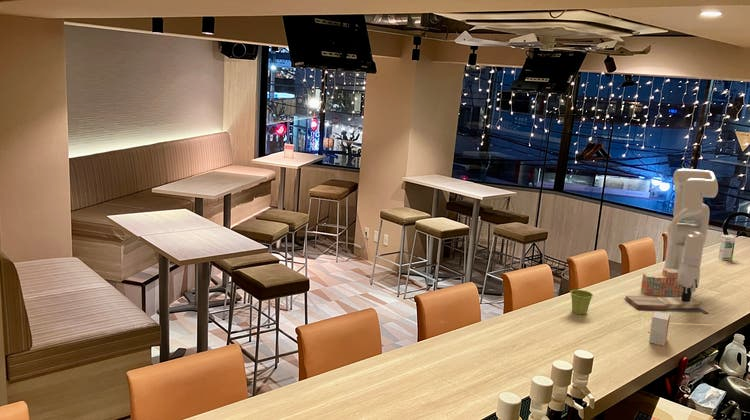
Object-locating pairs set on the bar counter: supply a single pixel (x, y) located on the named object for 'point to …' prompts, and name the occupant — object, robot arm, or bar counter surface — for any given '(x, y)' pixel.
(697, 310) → the underlay mat
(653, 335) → the small box
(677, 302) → the plank
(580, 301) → the plant pot
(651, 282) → the stack of blocks
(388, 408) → the bar counter surface
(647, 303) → the laid board
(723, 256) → the syrup box
